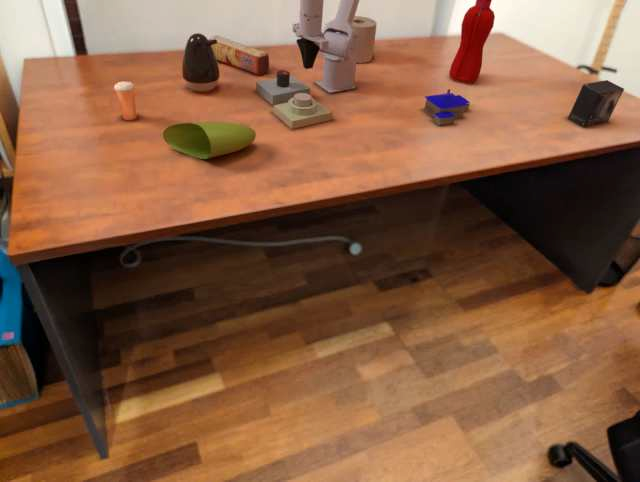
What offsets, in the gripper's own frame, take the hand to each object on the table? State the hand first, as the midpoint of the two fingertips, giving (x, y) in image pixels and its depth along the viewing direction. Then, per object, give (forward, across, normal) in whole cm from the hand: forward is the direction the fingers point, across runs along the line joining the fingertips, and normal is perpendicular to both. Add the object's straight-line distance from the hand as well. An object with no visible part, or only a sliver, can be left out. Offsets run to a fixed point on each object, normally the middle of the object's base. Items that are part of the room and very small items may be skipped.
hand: (308, 67), depth 132 cm
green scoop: (+11, +13, -33) cm, 37 cm away
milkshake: (+11, -12, -45) cm, 48 cm away
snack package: (+11, -33, -5) cm, 35 cm away
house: (+11, +21, +33) cm, 41 cm away
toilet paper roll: (+11, -25, +35) cm, 44 cm away
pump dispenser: (+11, -21, -22) cm, 32 cm away
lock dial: (+7, -8, -3) cm, 11 cm away
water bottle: (+11, +5, +57) cm, 58 cm away
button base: (+10, +6, -5) cm, 13 cm away
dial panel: (+10, -8, -3) cm, 13 cm away
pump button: (+7, +6, -5) cm, 10 cm away
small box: (+11, +43, +70) cm, 83 cm away
